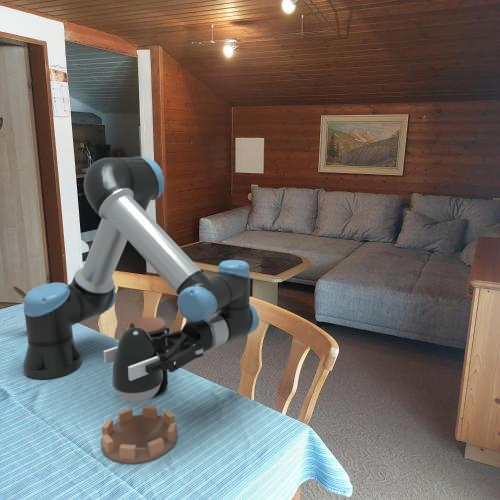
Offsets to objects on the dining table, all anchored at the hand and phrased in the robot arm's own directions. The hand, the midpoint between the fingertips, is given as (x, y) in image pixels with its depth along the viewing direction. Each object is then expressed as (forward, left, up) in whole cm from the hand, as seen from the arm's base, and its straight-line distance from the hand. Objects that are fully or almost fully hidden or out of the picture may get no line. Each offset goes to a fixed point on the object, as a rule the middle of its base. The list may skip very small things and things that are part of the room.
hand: (116, 365), depth 91 cm
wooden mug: (-75, +4, -19) cm, 77 cm away
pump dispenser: (0, +4, -9) cm, 10 cm away
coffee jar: (-19, +15, -19) cm, 31 cm away
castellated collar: (-1, +4, -19) cm, 19 cm away
